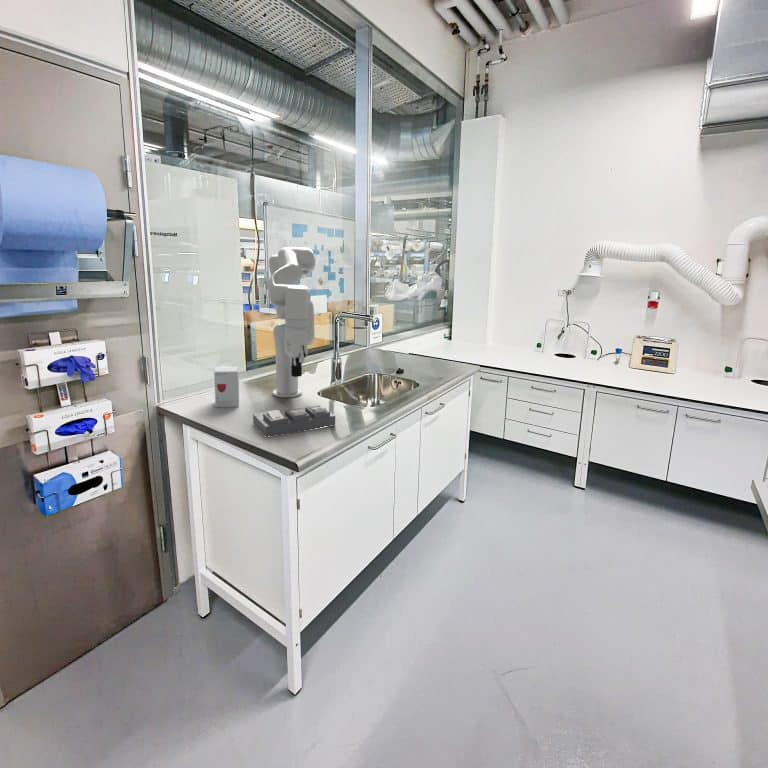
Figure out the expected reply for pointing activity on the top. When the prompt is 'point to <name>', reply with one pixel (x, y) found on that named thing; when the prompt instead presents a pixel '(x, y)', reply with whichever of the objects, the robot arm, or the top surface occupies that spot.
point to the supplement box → (226, 386)
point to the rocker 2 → (318, 409)
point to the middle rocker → (297, 412)
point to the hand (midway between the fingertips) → (296, 375)
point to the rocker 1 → (275, 415)
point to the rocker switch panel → (293, 421)
